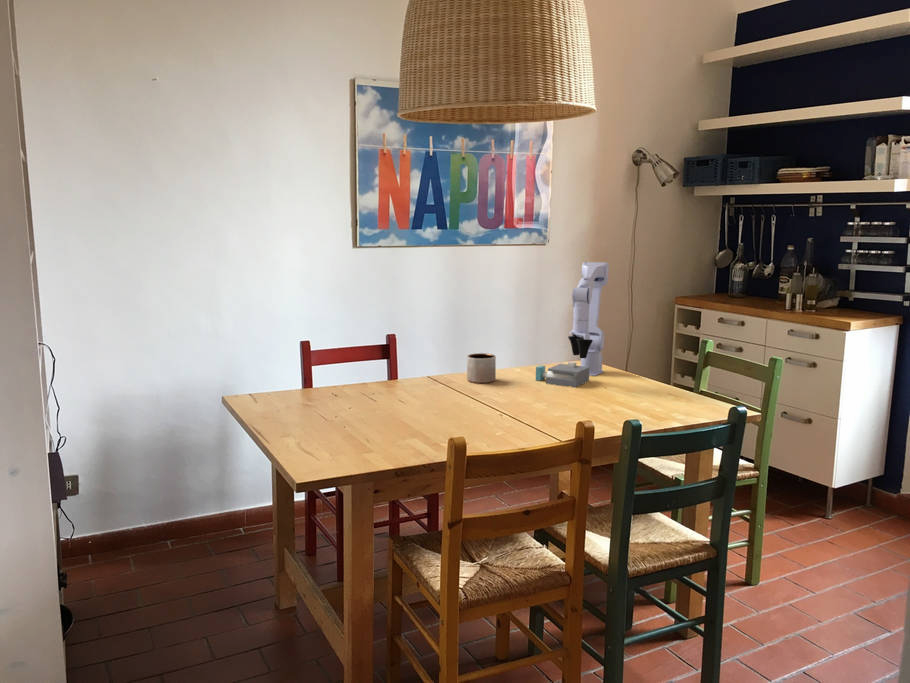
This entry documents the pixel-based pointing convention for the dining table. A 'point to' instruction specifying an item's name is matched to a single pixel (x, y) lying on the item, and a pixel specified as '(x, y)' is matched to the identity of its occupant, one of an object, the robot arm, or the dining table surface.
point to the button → (572, 364)
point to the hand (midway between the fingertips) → (579, 356)
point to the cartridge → (551, 374)
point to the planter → (481, 368)
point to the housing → (579, 373)
